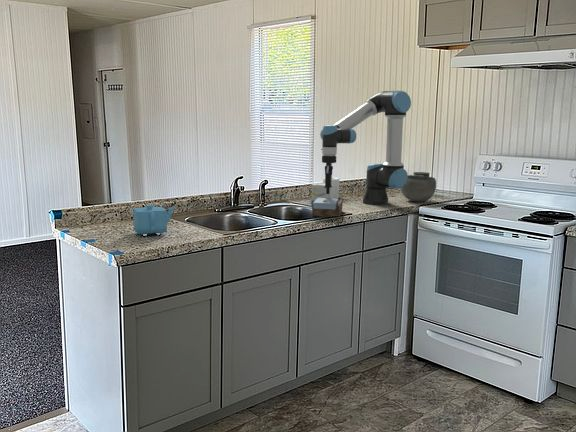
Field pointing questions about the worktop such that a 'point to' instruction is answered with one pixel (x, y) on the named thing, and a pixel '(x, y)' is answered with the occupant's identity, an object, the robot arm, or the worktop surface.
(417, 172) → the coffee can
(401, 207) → the worktop surface
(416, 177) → the bowl
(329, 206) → the cover plate
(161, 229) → the teapot
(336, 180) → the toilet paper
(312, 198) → the ink box
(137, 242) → the worktop surface
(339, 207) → the walnut box
